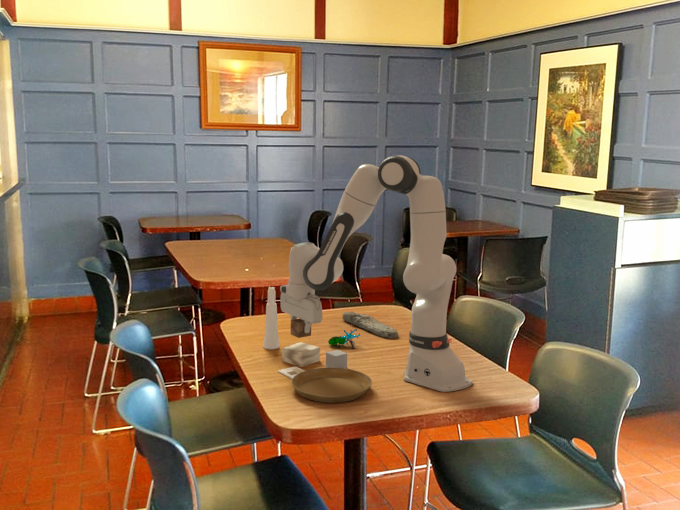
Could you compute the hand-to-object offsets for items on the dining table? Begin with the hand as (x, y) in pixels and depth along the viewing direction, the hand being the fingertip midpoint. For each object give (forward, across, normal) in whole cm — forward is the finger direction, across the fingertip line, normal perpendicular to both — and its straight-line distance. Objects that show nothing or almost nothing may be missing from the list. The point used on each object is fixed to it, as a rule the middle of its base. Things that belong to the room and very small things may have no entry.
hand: (300, 330), depth 229 cm
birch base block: (+11, 0, 0) cm, 11 cm away
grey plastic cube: (+11, -12, -6) cm, 17 cm away
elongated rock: (+11, +19, -46) cm, 51 cm away
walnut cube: (+2, 0, 0) cm, 2 cm away
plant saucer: (+11, -28, +8) cm, 31 cm away
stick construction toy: (+11, +4, -23) cm, 26 cm away
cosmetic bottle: (+11, +19, 0) cm, 22 cm away
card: (+11, -10, +9) cm, 17 cm away
